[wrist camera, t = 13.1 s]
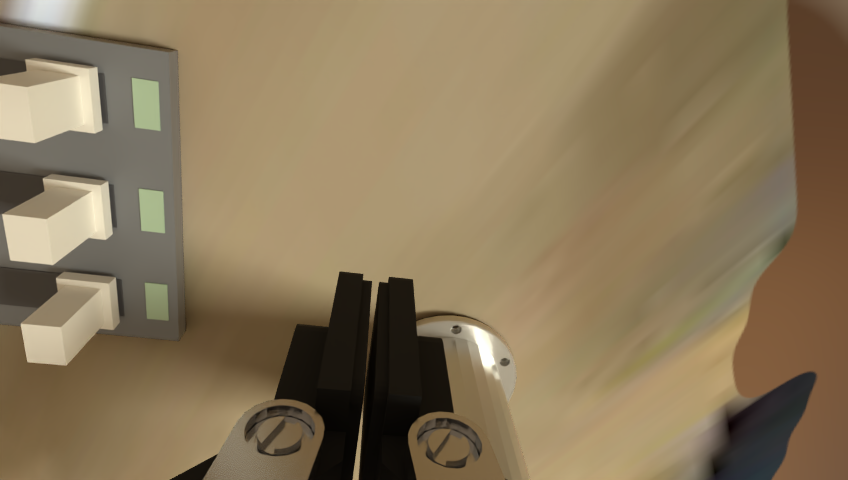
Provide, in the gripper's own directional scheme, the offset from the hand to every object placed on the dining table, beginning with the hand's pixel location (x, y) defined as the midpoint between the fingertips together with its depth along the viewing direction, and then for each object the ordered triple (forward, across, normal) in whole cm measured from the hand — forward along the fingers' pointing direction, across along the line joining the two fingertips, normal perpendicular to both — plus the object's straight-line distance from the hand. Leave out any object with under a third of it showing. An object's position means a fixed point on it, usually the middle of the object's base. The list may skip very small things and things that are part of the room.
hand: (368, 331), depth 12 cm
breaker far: (+25, +20, +16) cm, 36 cm away
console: (+27, +24, +9) cm, 37 cm away
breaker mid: (+25, +20, +9) cm, 33 cm away
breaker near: (+25, +20, +1) cm, 32 cm away
